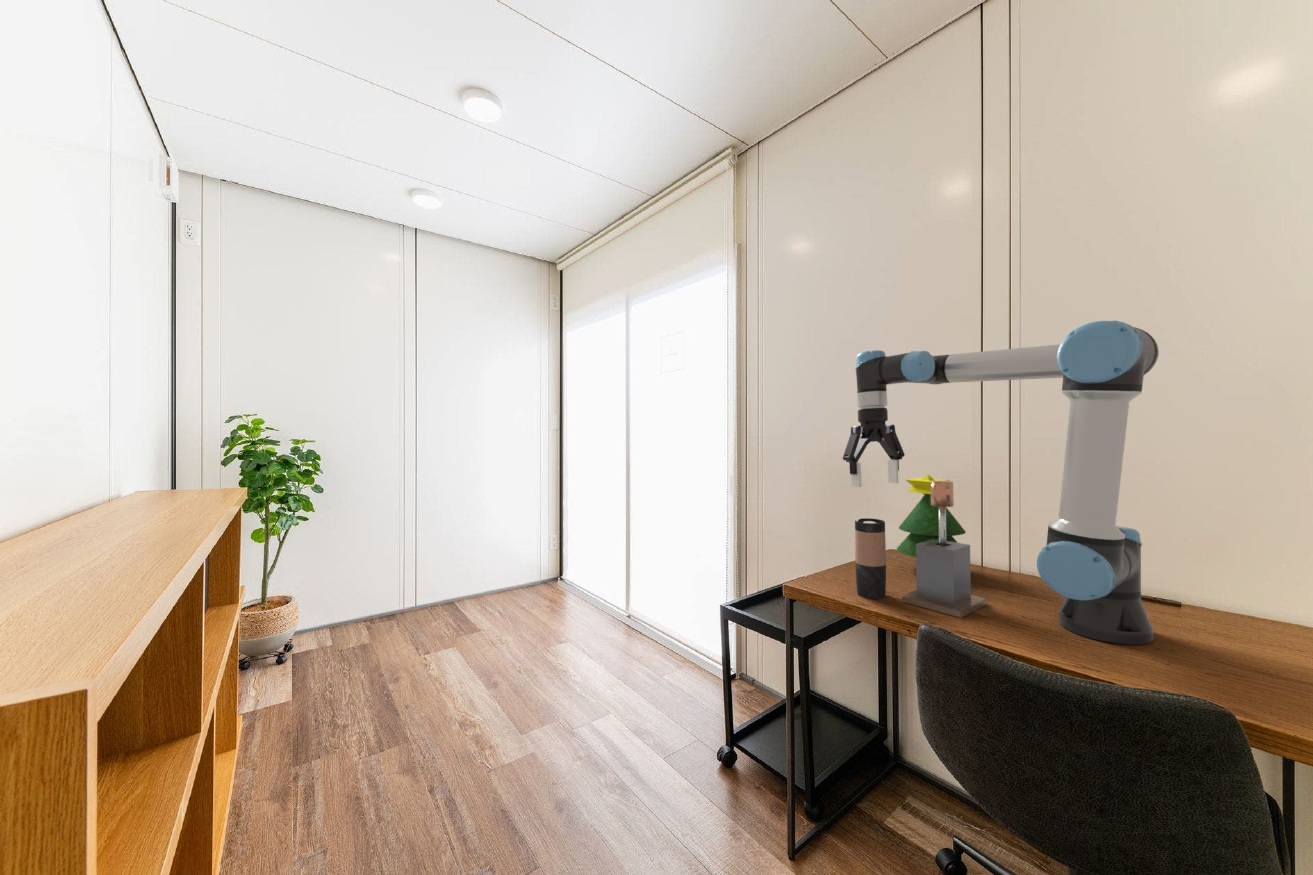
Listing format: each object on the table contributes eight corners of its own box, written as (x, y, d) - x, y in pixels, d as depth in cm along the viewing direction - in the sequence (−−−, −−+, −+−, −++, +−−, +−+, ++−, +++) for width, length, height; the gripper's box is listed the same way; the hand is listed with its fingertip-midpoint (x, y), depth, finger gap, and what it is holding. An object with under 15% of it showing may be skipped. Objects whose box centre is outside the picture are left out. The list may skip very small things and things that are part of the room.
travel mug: (891, 599, 129) (890, 523, 129) (862, 599, 130) (861, 523, 129) (879, 589, 137) (877, 517, 137) (851, 590, 137) (850, 518, 137)
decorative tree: (942, 585, 139) (940, 479, 139) (883, 568, 156) (881, 474, 156) (982, 574, 148) (980, 474, 147) (922, 559, 165) (921, 470, 165)
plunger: (958, 564, 125) (956, 481, 124) (948, 567, 122) (947, 483, 122) (937, 560, 129) (936, 480, 128) (928, 563, 126) (926, 481, 126)
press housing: (986, 604, 124) (985, 544, 124) (960, 617, 116) (959, 554, 116) (929, 590, 135) (928, 535, 135) (902, 601, 127) (901, 543, 127)
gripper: (894, 408, 144) (897, 480, 144) (827, 409, 135) (830, 487, 135) (916, 406, 137) (919, 482, 137) (847, 407, 128) (850, 489, 128)
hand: (875, 484), depth 136 cm, fingers open, 13 cm apart
